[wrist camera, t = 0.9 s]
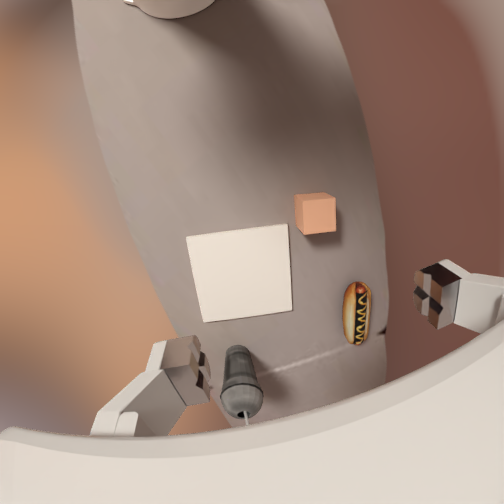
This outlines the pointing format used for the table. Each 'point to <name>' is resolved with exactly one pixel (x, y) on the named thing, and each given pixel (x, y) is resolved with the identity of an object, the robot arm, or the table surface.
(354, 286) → the hot dog
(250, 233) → the mat
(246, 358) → the beverage cup
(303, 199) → the cube
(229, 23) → the table surface
